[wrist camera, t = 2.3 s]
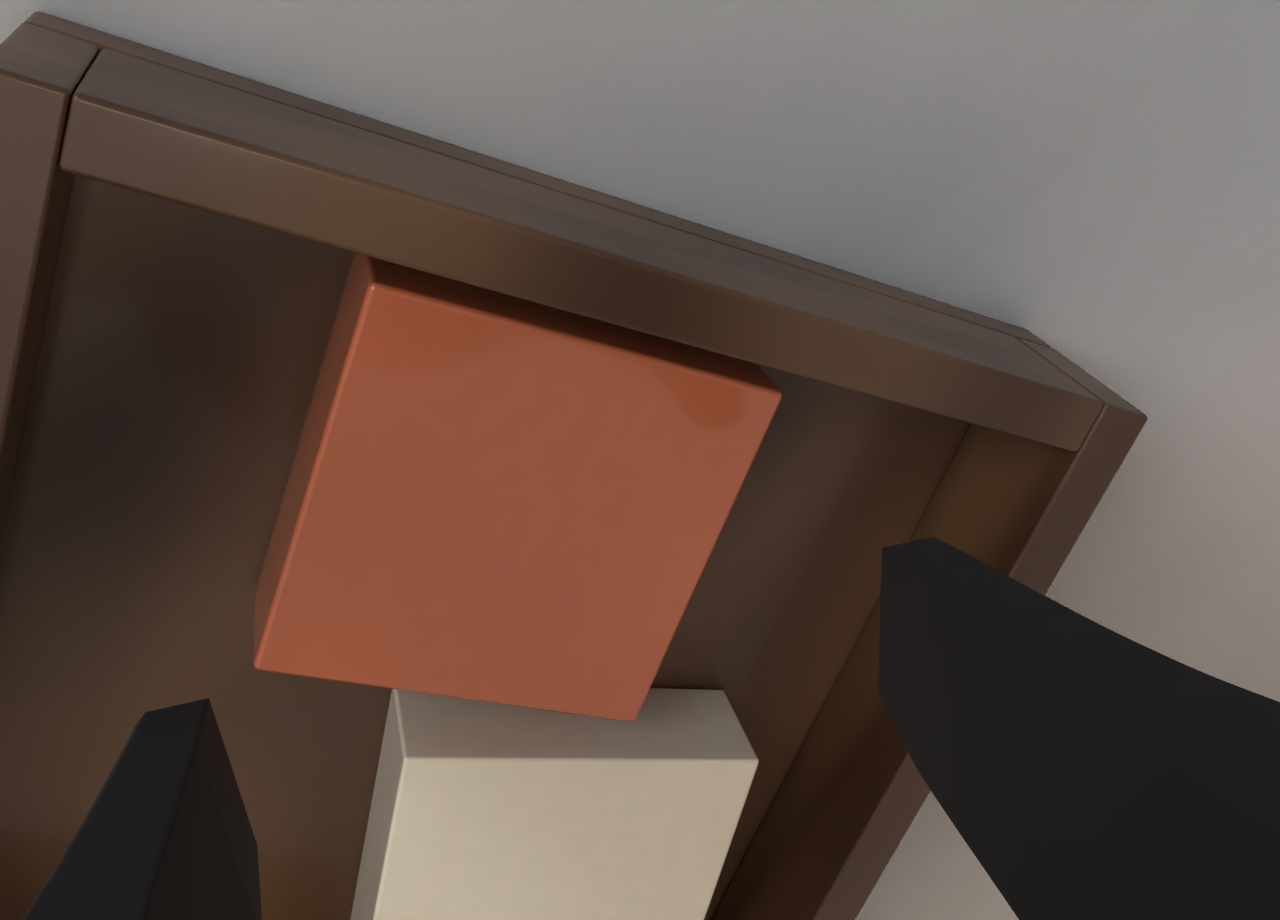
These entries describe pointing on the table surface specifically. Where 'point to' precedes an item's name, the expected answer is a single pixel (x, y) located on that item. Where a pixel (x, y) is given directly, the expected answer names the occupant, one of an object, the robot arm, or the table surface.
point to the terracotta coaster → (500, 498)
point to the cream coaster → (552, 810)
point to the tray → (276, 412)
